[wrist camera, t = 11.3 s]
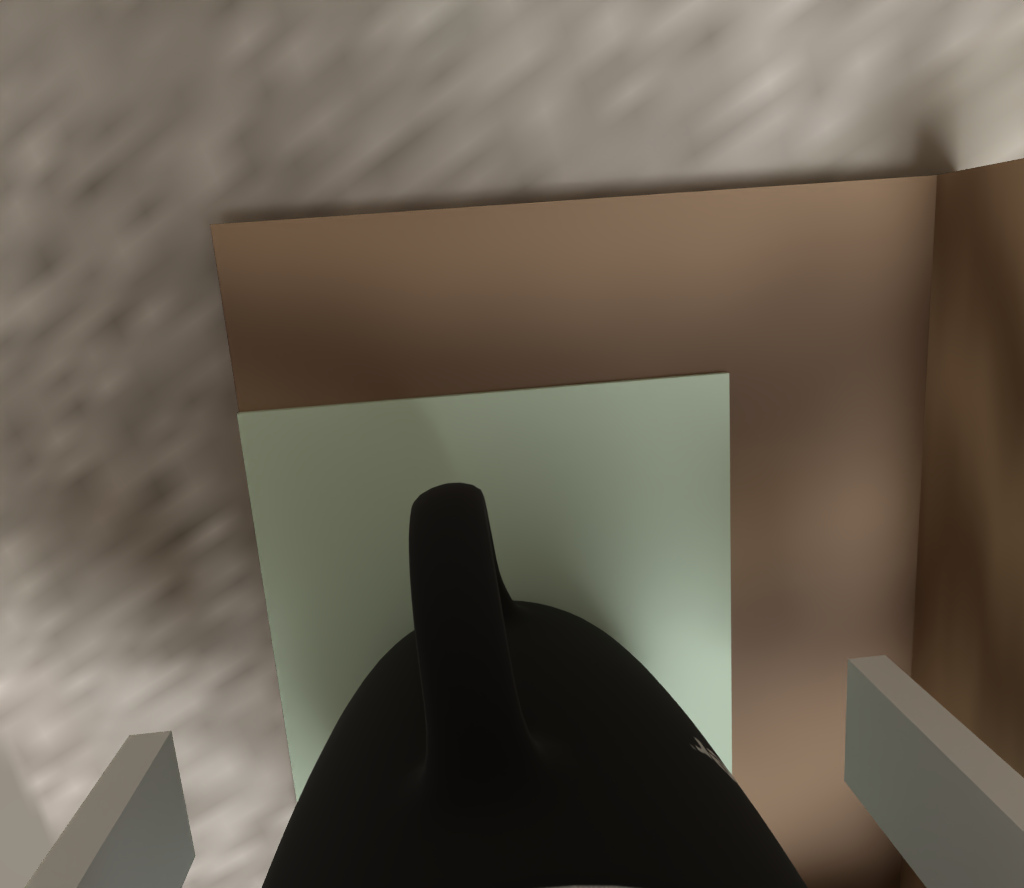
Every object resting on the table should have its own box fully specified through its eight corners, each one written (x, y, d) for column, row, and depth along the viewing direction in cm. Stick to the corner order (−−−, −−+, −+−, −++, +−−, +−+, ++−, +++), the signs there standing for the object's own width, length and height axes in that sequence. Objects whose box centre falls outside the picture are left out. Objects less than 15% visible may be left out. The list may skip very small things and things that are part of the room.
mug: (697, 836, 20) (934, 1381, 10) (358, 903, 20) (266, 1534, 10) (642, 389, 17) (896, 550, 7) (245, 458, 17) (-38, 723, 7)
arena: (224, 227, 17) (106, 205, 11) (960, 176, 18) (1203, 132, 12) (334, 964, 22) (291, 1223, 16) (918, 891, 23) (1081, 1108, 17)
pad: (238, 412, 17) (236, 413, 17) (726, 372, 18) (729, 372, 17) (314, 904, 20) (313, 910, 20) (729, 854, 21) (732, 860, 20)
